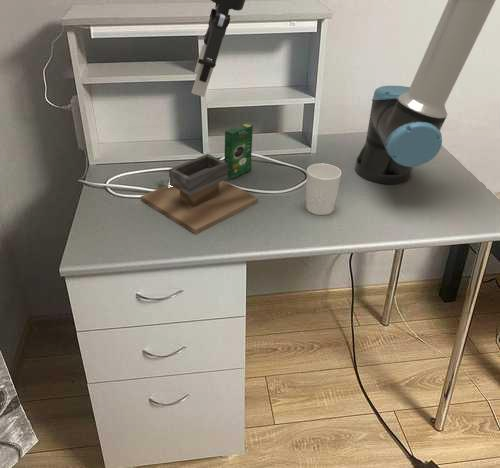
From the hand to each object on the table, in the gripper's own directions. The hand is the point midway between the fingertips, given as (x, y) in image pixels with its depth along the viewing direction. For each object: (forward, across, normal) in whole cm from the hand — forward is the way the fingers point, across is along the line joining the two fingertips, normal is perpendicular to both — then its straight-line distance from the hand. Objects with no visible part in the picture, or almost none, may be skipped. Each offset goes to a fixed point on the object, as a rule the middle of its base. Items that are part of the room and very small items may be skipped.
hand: (198, 83), depth 115 cm
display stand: (+26, +4, +8) cm, 28 cm away
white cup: (+17, +7, +36) cm, 41 cm away
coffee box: (+24, -11, +18) cm, 31 cm away
